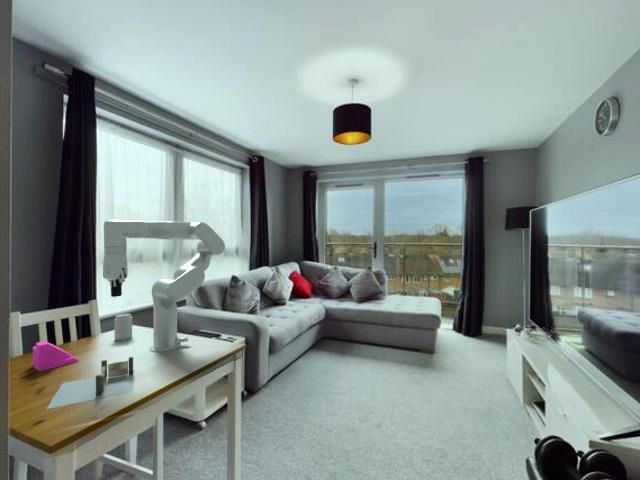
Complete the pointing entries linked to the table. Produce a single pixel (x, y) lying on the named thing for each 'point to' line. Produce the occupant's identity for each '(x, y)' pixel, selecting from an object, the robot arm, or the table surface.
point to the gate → (103, 378)
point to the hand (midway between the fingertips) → (116, 296)
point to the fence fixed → (114, 371)
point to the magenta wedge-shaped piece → (50, 356)
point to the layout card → (90, 390)
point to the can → (123, 326)
